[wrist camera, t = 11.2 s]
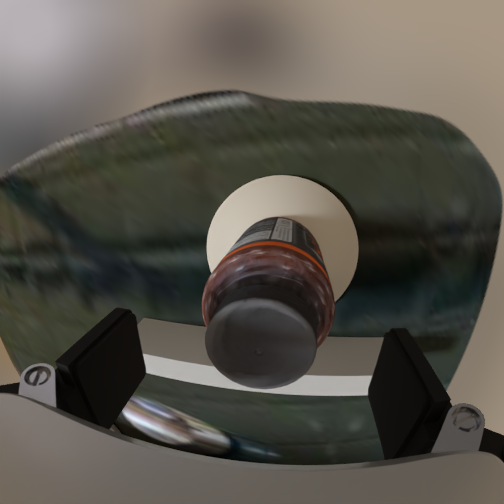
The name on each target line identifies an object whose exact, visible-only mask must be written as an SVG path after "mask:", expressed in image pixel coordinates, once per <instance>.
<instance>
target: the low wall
mask: <svg viewBox="0 0 504 504" xmlns="http://www.w3.org/2000/svg"><path fill="white" fill-rule="evenodd" d="M137 326H138V332H139V337H140V342H141V347H142V352H143V357H144V362H145V366H146V373H149V374H154V375H158V376H162V377H167V378H171V379H176V380H181V381H186V382H192V383H197V384H203V385H209V386H216V387H222V388H230V389H237V390H246V391H255V392H265V393H277V394H293V395H318V396H353V395H368V387H369V384H370V381H371V378H372V375H373V372H374V369H375V366H376V363H377V360H378V356H379V353H380V350H381V346H382V342H383V339H384V337H326V339H325V340H324V342H323V343H322V344H321V345H320V346H319V348H318V349H317V352H316V357H315V359H314V362H313V364H312V366H311V367H310V369H309V370H308V371H307V373H306V374H305V375H304V376H302V377H301V378H299V379H298V380H297V381H295V382H293V383H291V384H289V385H287V386H283V387H279V388H273V389H256V388H250V387H246V386H242V385H240V384H238V383H235V382H233V381H231V380H230V379H228V378H226V377H225V376H224V375H223V374H221V373H220V372H219V371H218V370H217V369H216V368H215V366H214V365H213V364H212V362H211V360H210V359H209V357H208V355H207V351H206V347H205V333H206V330H207V327H203V326H195V325H188V324H181V323H174V322H168V321H161V320H155V319H149V318H143V319H142V320H141V322H140V323H139V324H138V325H137Z"/></svg>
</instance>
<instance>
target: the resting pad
mask: <svg viewBox="0 0 504 504" xmlns="http://www.w3.org/2000/svg"><path fill="white" fill-rule="evenodd" d="M269 217H285V218H289V219H292V220H295V221H297V222H299V223H301V224H302V225H303V226H305V227H306V228H307V229H308V230H309V231H310V232H311V234H312V235H313V236H314V238H315V239H316V241H317V243H318V245H319V248H320V251H321V253H322V257H323V261H324V264H325V267H326V270H327V272H328V276H329V279H330V282H331V286H332V290H333V293H334V301H337V300H338V298H339V297H340V296H341V295H342V294H343V293H344V291H345V290H346V288H347V287H348V286H349V284H350V282H351V280H352V278H353V275H354V272H355V269H356V266H357V261H358V250H359V248H358V237H357V233H356V229H355V226H354V223H353V221H352V218H351V217H350V215H349V213H348V211H347V210H346V208H345V207H344V205H343V204H342V203H341V202H340V201H339V200H338V199H337V198H336V196H335V195H333V194H332V193H331V192H330V191H328V190H327V189H326V188H324V187H322V186H321V185H319V184H317V183H315V182H313V181H310V180H308V179H305V178H301V177H297V176H289V175H274V176H268V177H263V178H260V179H257V180H254V181H252V182H249V183H247V184H245V185H243V186H242V187H240V188H239V189H237V190H236V191H234V192H233V193H232V194H231V195H230V196H229V197H228V198H227V199H226V200H225V201H224V202H223V203H222V204H221V206H220V207H219V209H218V210H217V212H216V214H215V216H214V218H213V220H212V222H211V225H210V229H209V232H208V238H207V258H208V263H209V267H210V270H211V273H212V272H213V271H214V269H215V268H216V267H217V265H218V264H219V262H220V261H221V260H222V259H223V258H224V256H225V255H226V254H227V253H228V251H229V250H230V249H231V248H232V246H233V245H234V244H235V243H236V241H237V240H238V239H239V238H240V237H241V235H242V234H243V233H244V232H245V231H246V230H247V229H248V228H249V227H250V226H252V225H253V224H254V223H256V222H258V221H260V220H263V219H265V218H269Z"/></svg>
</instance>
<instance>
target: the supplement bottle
mask: <svg viewBox="0 0 504 504" xmlns="http://www.w3.org/2000/svg"><path fill="white" fill-rule="evenodd" d="M202 313H203V318H204V322H205V325H206V327H207V330H206V333H205V347H206V351H207V355H208V357H209V359H210V360H211V362H212V364H213V365H214V366H215V368H216V369H217V370H218V371H219V372H220V373H221V374H223V375H224V376H225V377H226V378H228V379H230V380H231V381H233V382H235V383H238V384H240V385H242V386H246V387H250V388H256V389H273V388H279V387H283V386H287V385H289V384H291V383H293V382H295V381H297V380H298V379H299V378H301V377H302V376H304V375H305V374H306V373H307V371H308V370H309V369H310V367H311V366H312V364H313V362H314V359H315V357H316V352H317V349H318V348H319V346H320V345H321V344H322V343H323V342H324V340H325V339H326V337H327V336H328V333H329V332H330V330H331V327H332V325H333V320H334V316H335V301H334V293H333V290H332V286H331V282H330V279H329V276H328V272H327V270H326V267H325V264H324V261H323V257H322V253H321V251H320V248H319V245H318V243H317V241H316V239H315V238H314V236H313V235H312V234H311V232H310V231H309V230H308V229H307V228H306V227H305V226H303V225H302V224H301V223H299V222H297V221H295V220H292V219H289V218H285V217H269V218H265V219H263V220H260V221H258V222H256V223H254V224H253V225H252V226H250V227H249V228H248V229H247V230H246V231H245V232H244V233H243V234H242V235H241V237H240V238H239V239H238V240H237V241H236V243H235V244H234V245H233V246H232V248H231V249H230V250H229V251H228V253H227V254H226V255H225V256H224V258H223V259H222V260H221V261H220V262H219V264H218V265H217V267H216V268H215V269H214V271H213V272H212V274H211V275H210V277H209V279H208V281H207V283H206V285H205V289H204V293H203V298H202Z"/></svg>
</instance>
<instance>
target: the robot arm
mask: <svg viewBox="0 0 504 504" xmlns="http://www.w3.org/2000/svg"><path fill="white" fill-rule="evenodd" d="M55 362H56V365H57V367H58V368H57V369H56V370H54V368H53V367H52V366H50V365H48V364H44V363H41V364H35V365H32V366H30V367H28V368H27V369H25V370H24V372H23V373H22V375H21V378H20V382H19V383H13V384H7V385H1V386H0V504H504V435H501V434H499V433H496V432H493V431H491V430H488V429H486V428H484V426H485V419H484V416H483V414H482V413H481V411H480V410H479V409H478V408H476V407H475V406H473V405H470V404H466V403H461V404H457V405H454V406H452V405H451V403H450V400H451V399H450V397H449V395H448V394H447V392H446V390H445V389H444V387H443V385H442V383H441V382H440V380H439V379H438V377H437V375H436V374H435V372H434V370H433V369H432V367H431V366H430V364H429V362H428V361H427V359H426V358H425V356H424V354H423V353H422V351H421V350H420V348H419V347H418V345H417V344H416V342H415V341H414V339H413V338H412V336H411V335H410V333H409V332H408V330H407V329H406V328H392V329H390V331H389V332H387V333H386V334H385V336H384V339H383V342H382V346H381V350H380V353H379V356H378V360H377V363H376V366H375V369H374V372H373V375H372V378H371V381H370V384H369V387H368V397H369V401H370V404H371V408H372V411H373V415H374V418H375V422H376V426H377V429H378V433H379V437H380V441H381V445H382V449H383V453H384V457H385V460H382V461H373V462H363V463H351V464H336V465H280V464H265V463H253V462H243V461H235V460H228V459H221V458H215V457H209V456H203V455H198V454H193V453H188V452H184V451H179V450H175V449H171V448H167V447H163V446H159V445H155V444H152V443H148V442H145V441H141V440H138V439H135V438H132V437H129V436H126V435H123V434H121V432H120V431H119V430H118V428H117V427H116V426H115V425H114V424H113V423H114V422H115V420H116V419H117V417H118V416H119V414H120V413H121V411H122V410H123V408H124V407H125V405H126V404H127V402H128V401H129V399H130V398H131V396H132V395H133V393H134V392H135V390H136V389H137V387H138V386H139V384H140V383H141V381H142V380H143V378H144V376H145V374H146V366H145V362H144V357H143V352H142V347H141V342H140V337H139V332H138V326H137V321H136V316H135V315H134V314H132V311H131V310H129V309H123V308H115V309H114V310H113V311H112V312H111V313H109V314H108V315H107V316H106V317H105V318H104V319H102V320H101V321H100V322H99V323H98V324H97V325H96V326H94V327H93V328H92V329H91V330H90V331H89V332H88V333H86V334H85V335H84V336H83V337H82V338H81V339H80V340H78V341H77V342H76V343H75V344H74V345H73V346H72V347H71V348H70V349H68V350H67V351H66V352H65V353H64V354H63V355H62V356H61V357H60V358H59V359H57V360H56V361H55Z"/></svg>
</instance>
